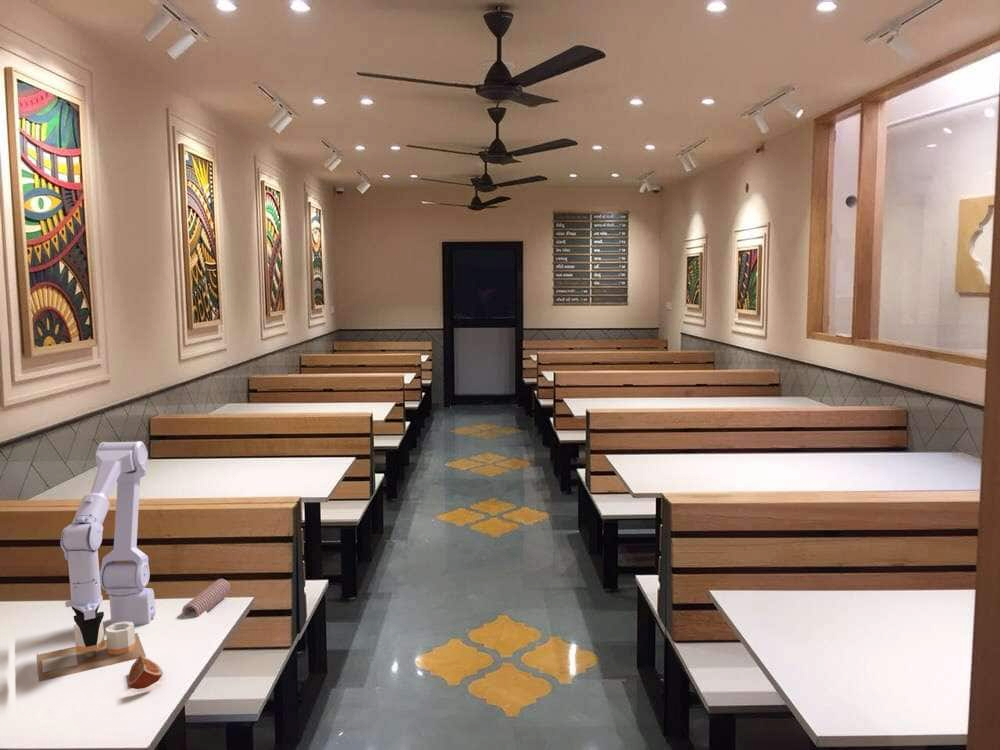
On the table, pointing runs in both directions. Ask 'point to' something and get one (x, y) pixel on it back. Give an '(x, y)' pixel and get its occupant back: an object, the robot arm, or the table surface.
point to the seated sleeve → (120, 638)
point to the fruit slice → (143, 673)
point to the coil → (208, 597)
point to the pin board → (81, 660)
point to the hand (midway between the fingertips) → (89, 640)
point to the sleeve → (80, 643)
